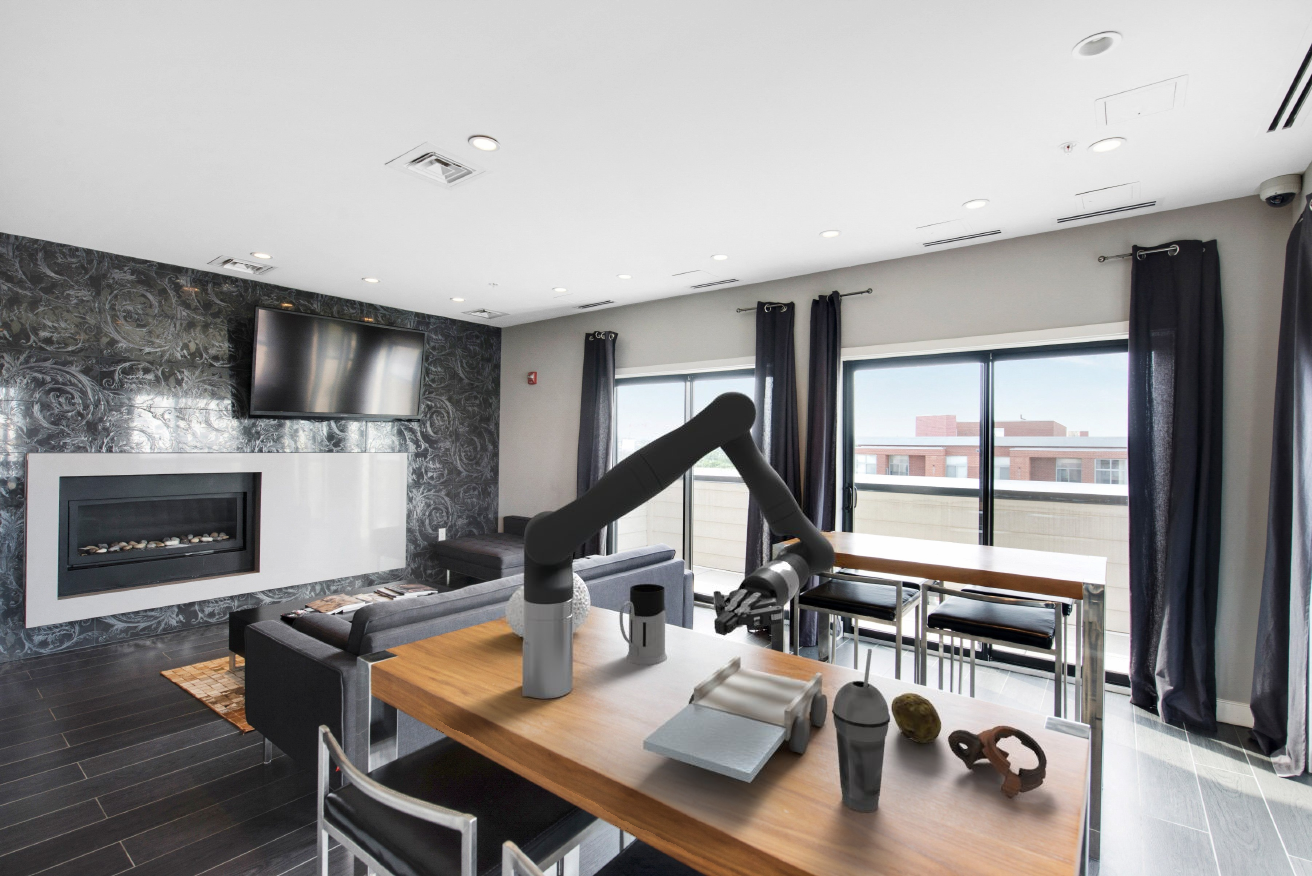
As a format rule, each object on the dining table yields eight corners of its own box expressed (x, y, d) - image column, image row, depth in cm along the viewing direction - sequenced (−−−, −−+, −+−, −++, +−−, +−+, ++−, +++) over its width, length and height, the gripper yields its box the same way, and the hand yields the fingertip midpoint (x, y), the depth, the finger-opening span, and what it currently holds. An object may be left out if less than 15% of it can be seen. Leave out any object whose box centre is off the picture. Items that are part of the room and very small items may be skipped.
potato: (956, 733, 99) (956, 684, 99) (932, 765, 89) (932, 710, 89) (903, 717, 105) (904, 671, 104) (875, 746, 95) (875, 695, 95)
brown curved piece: (1023, 766, 90) (1047, 731, 86) (1033, 828, 82) (1060, 793, 78) (937, 734, 93) (956, 700, 89) (940, 791, 86) (961, 756, 81)
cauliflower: (576, 584, 161) (563, 543, 151) (610, 630, 149) (598, 589, 139) (507, 626, 154) (488, 586, 143) (537, 678, 142) (518, 638, 131)
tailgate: (689, 703, 98) (643, 740, 86) (786, 728, 90) (749, 773, 78) (689, 714, 98) (643, 753, 86) (786, 740, 90) (749, 787, 78)
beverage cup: (823, 787, 84) (824, 640, 84) (874, 784, 84) (875, 639, 84) (844, 820, 76) (845, 660, 76) (900, 817, 77) (901, 658, 77)
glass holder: (674, 655, 134) (675, 586, 134) (638, 676, 122) (638, 601, 122) (641, 647, 138) (641, 581, 138) (603, 667, 126) (603, 594, 126)
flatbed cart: (729, 691, 115) (729, 654, 115) (830, 715, 105) (830, 675, 105) (683, 730, 99) (684, 687, 99) (796, 763, 90) (797, 715, 90)
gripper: (735, 560, 110) (682, 596, 96) (805, 574, 102) (758, 615, 88) (736, 599, 111) (684, 640, 98) (806, 616, 103) (759, 663, 90)
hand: (719, 628), depth 93 cm, fingers closed
